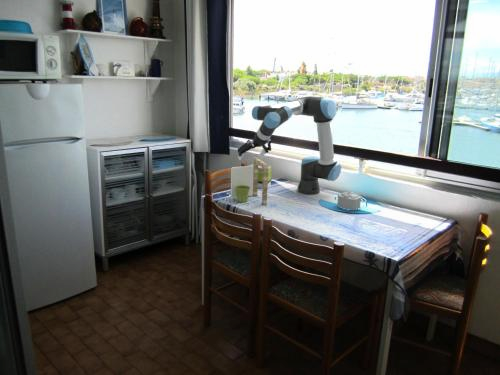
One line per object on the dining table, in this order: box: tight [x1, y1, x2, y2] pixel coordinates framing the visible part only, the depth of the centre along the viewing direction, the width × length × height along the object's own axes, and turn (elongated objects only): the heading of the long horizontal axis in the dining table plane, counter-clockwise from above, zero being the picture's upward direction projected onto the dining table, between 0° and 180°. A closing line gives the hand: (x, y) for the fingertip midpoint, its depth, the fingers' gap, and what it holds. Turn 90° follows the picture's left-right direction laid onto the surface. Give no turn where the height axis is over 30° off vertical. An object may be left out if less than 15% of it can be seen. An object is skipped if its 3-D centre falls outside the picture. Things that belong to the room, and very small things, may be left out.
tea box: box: [248, 163, 273, 190], centre depth 278 cm, size 15×10×15 cm, turn 73°
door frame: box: [253, 157, 269, 206], centre depth 248 cm, size 21×2×24 cm, turn 17°
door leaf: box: [230, 165, 254, 199], centre depth 252 cm, size 15×3×19 cm, turn 117°
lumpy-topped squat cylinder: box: [336, 191, 362, 211], centre depth 240 cm, size 10×13×9 cm
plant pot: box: [235, 185, 250, 203], centre depth 247 cm, size 9×9×9 cm
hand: (249, 157), depth 230 cm, fingers open, 13 cm apart
